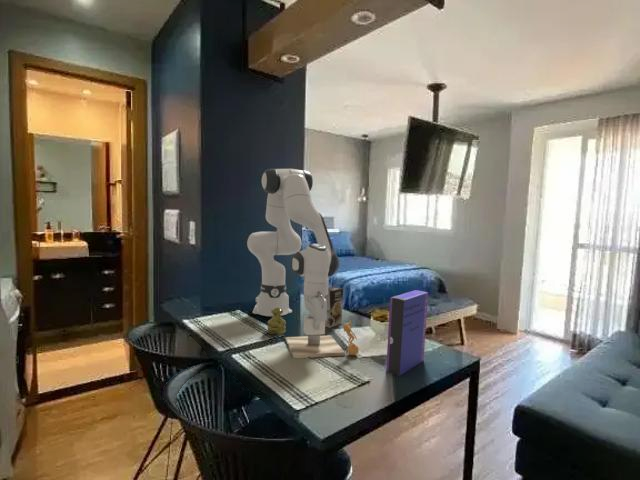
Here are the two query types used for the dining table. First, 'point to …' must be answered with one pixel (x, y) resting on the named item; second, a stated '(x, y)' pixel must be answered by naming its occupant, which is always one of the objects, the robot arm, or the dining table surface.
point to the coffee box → (334, 306)
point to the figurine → (352, 347)
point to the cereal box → (406, 331)
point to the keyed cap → (312, 326)
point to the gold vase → (276, 322)
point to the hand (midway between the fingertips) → (314, 326)
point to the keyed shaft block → (314, 346)
